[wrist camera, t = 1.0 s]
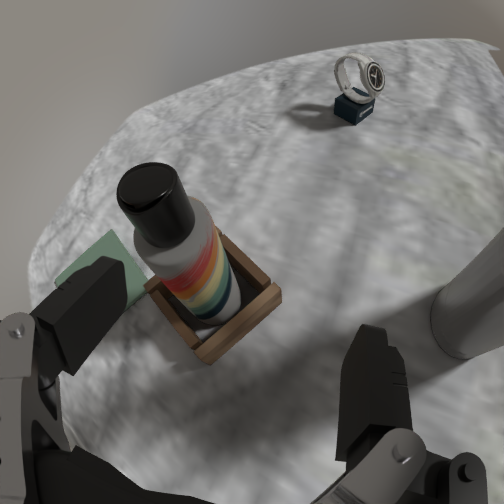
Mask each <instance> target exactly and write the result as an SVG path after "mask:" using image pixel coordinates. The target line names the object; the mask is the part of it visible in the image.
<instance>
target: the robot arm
mask: <svg viewBox="0 0 504 504" xmlns="http://www.w3.org/2000/svg"><path fill="white" fill-rule="evenodd" d="M127 300H128V294H127V286H126V277H125V267H124V263H123V262H122V261H120V260H117V259H113V258H110V257H107V256H101V257H99V258H98V259H97V260H96V261H95V262H94V263H92V264H91V265H90V266H85V267H83V268H81V269H79V270H77V271H75V272H74V273H73V274H72V275H70V276H69V277H68V278H67V279H66V280H65V282H63V283H62V284H60V285H59V286H58V289H55V290H54V291H53V292H52V293H51V294H50V295H49V296H47V297H46V298H45V299H44V300H43V301H42V302H41V303H40V304H39V305H38V306H37V307H36V308H35V309H34V310H33V311H32V312H31V313H30V314H27V313H21V312H19V313H14V314H11V315H9V316H7V317H6V318H4V319H3V320H2V321H1V320H0V504H215V503H211V502H208V501H204V500H201V499H198V498H195V497H191V496H184V495H176V494H168V493H161V492H155V491H149V490H145V489H143V488H141V487H139V486H138V485H137V484H135V483H134V482H133V481H131V480H130V479H129V478H127V477H126V476H125V475H123V474H122V473H121V472H120V471H118V470H117V469H116V468H115V467H113V466H112V465H111V464H110V463H108V462H106V461H104V460H102V459H100V458H98V457H97V456H95V455H93V454H91V453H89V452H87V451H85V450H84V449H82V448H80V447H78V446H77V445H76V446H75V447H74V449H73V451H72V452H71V450H70V446H69V442H68V439H67V437H66V434H65V432H64V428H63V423H62V411H61V396H60V379H59V376H58V375H59V374H60V372H61V371H62V370H63V371H65V372H67V373H69V374H70V375H72V376H74V375H75V374H76V372H77V371H78V370H79V368H80V367H81V366H82V364H83V363H84V362H85V360H86V359H87V358H88V356H89V355H90V354H91V352H92V351H93V350H94V349H95V347H96V346H97V345H98V343H99V342H100V341H101V340H102V338H103V337H104V336H105V335H106V333H107V332H108V331H109V330H110V328H111V327H112V326H113V325H114V323H115V322H116V321H117V320H118V318H119V317H120V316H121V315H122V313H123V312H124V310H125V308H126V305H127ZM431 324H432V330H433V333H434V336H435V338H436V340H437V342H438V344H439V345H440V346H441V348H442V349H443V350H444V351H445V352H447V353H448V354H449V355H451V356H453V357H455V358H459V359H470V358H473V357H475V356H478V355H481V354H483V353H486V352H489V351H491V350H494V349H496V348H499V347H501V346H503V345H504V227H503V229H502V230H501V231H500V232H499V233H498V234H497V235H496V236H495V237H494V239H493V240H492V241H491V242H490V243H489V244H488V245H487V246H486V247H485V248H484V249H483V250H482V251H481V252H480V253H479V254H478V255H477V256H476V257H475V258H474V259H473V260H472V261H471V262H470V263H469V264H468V265H467V266H466V267H465V268H464V269H463V270H462V271H461V272H460V273H459V274H458V275H457V276H456V277H455V278H454V279H453V280H452V281H451V282H450V283H449V284H447V285H446V286H445V287H444V288H443V289H442V290H441V291H440V292H439V294H438V295H437V296H436V298H435V300H434V303H433V306H432V310H431ZM405 374H406V372H405V365H404V360H403V358H402V357H401V355H400V353H399V352H398V350H397V348H396V347H392V346H388V340H387V334H386V330H385V329H384V328H380V327H375V326H370V325H365V324H362V325H361V326H360V328H359V330H358V332H357V334H356V336H355V338H354V340H353V342H352V344H351V346H350V348H349V350H348V352H347V354H346V356H345V358H344V361H343V364H342V369H341V382H340V404H339V421H338V435H337V447H336V457H335V461H344V462H346V471H345V472H344V473H343V474H342V475H341V476H340V477H339V478H338V479H337V480H336V481H335V482H334V483H333V484H331V485H330V486H329V487H328V488H327V489H326V490H325V491H324V492H323V493H322V494H321V495H319V496H318V497H317V498H316V499H315V500H314V501H313V502H311V503H310V504H488V494H487V479H486V470H485V466H484V464H483V462H482V461H481V459H480V458H479V457H478V456H476V455H475V454H473V453H469V452H465V453H461V454H459V455H457V456H456V457H455V458H453V459H452V460H451V459H448V458H445V457H442V456H440V455H437V454H434V453H432V452H429V451H427V450H426V446H425V444H424V442H423V440H422V439H421V438H420V436H419V435H417V434H416V433H415V432H413V428H412V418H411V409H410V401H409V393H408V388H407V378H406V376H405Z"/></svg>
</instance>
